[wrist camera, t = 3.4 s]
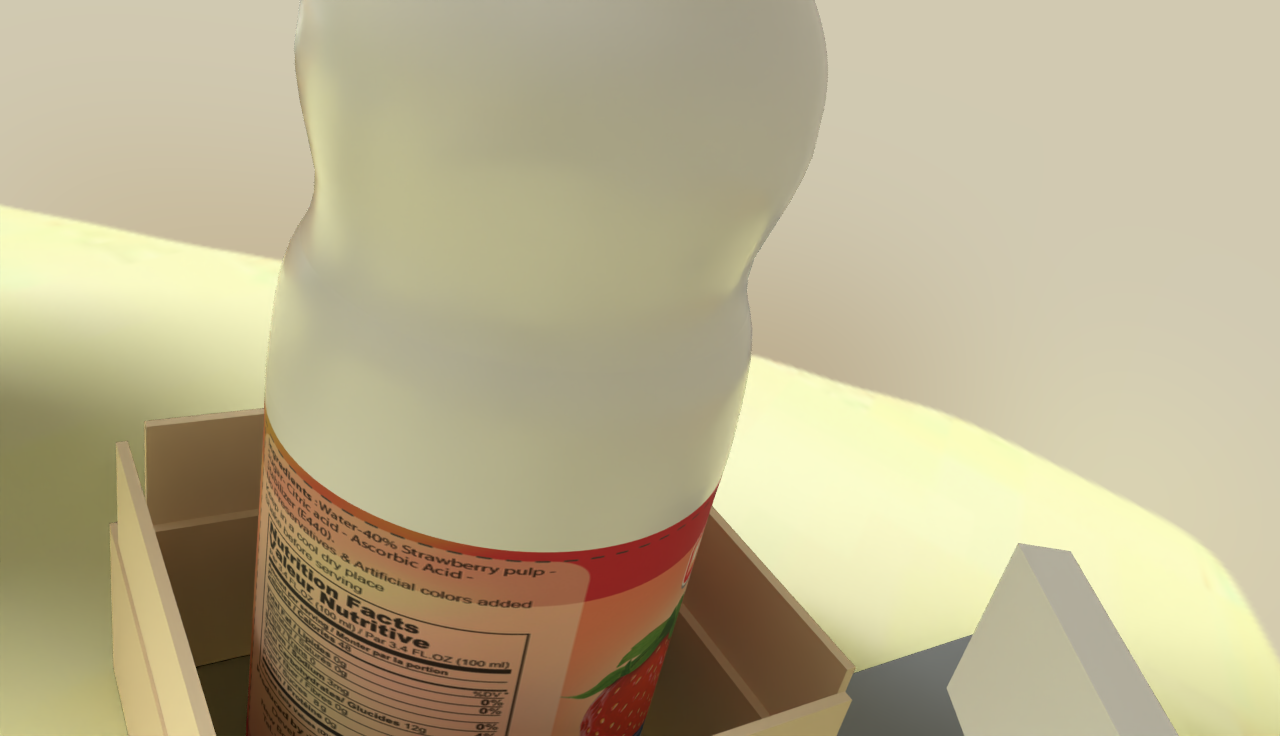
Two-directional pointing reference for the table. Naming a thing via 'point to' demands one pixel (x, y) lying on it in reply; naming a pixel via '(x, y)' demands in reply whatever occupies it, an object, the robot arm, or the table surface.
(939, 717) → the coaster
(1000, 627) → the robot arm
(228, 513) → the carton
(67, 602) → the table surface
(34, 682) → the table surface
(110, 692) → the table surface
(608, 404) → the fruit juice
